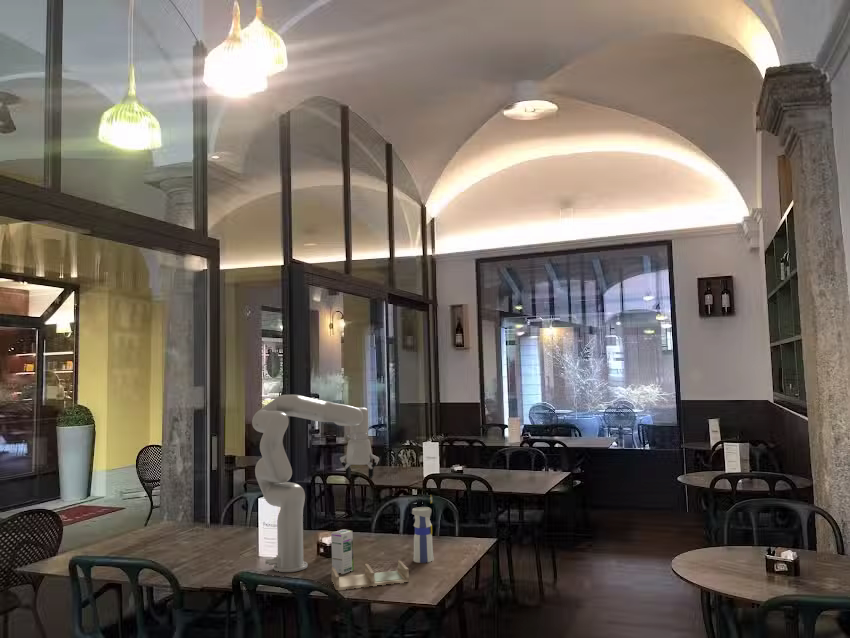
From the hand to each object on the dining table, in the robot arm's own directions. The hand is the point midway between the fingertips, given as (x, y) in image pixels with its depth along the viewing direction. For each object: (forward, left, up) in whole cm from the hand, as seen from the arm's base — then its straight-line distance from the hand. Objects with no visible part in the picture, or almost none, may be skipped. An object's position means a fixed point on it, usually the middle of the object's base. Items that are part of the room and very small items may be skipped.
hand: (359, 478), depth 283 cm
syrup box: (-12, -31, -29) cm, 44 cm away
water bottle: (+20, -27, -29) cm, 44 cm away
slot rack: (-5, -47, -29) cm, 55 cm away
